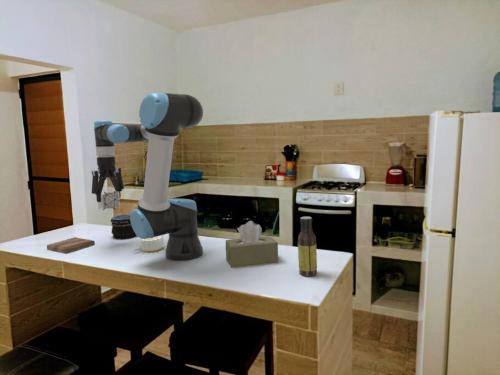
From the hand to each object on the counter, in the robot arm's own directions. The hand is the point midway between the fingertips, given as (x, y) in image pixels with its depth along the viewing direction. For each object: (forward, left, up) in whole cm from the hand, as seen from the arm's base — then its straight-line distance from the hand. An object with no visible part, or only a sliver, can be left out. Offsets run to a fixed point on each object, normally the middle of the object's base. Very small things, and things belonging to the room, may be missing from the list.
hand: (109, 207), depth 167 cm
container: (+8, -14, -18) cm, 24 cm away
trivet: (+16, +10, -18) cm, 26 cm away
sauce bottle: (-91, -6, -18) cm, 93 cm away
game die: (0, 0, -1) cm, 1 cm away
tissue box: (-67, -9, -18) cm, 70 cm away
